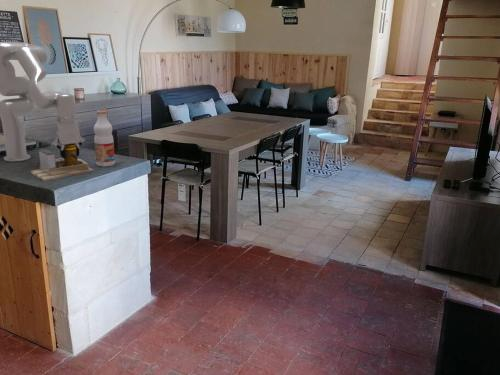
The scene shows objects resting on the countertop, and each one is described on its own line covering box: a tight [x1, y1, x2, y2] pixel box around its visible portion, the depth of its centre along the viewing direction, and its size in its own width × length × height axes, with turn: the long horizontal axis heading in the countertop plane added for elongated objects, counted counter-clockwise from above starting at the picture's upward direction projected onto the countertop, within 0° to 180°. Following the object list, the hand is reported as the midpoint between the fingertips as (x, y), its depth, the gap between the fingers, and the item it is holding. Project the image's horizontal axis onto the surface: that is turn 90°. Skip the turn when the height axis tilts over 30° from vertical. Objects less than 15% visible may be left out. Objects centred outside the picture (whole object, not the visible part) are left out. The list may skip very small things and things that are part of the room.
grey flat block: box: [38, 148, 56, 175], centre depth 204 cm, size 10×3×10 cm, turn 45°
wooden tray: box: [30, 158, 95, 182], centre depth 210 cm, size 16×24×4 cm, turn 135°
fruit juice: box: [93, 110, 116, 167], centre depth 222 cm, size 9×9×28 cm
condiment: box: [59, 143, 78, 167], centre depth 210 cm, size 7×8×12 cm
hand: (70, 156), depth 211 cm, fingers closed on condiment, 6 cm apart
